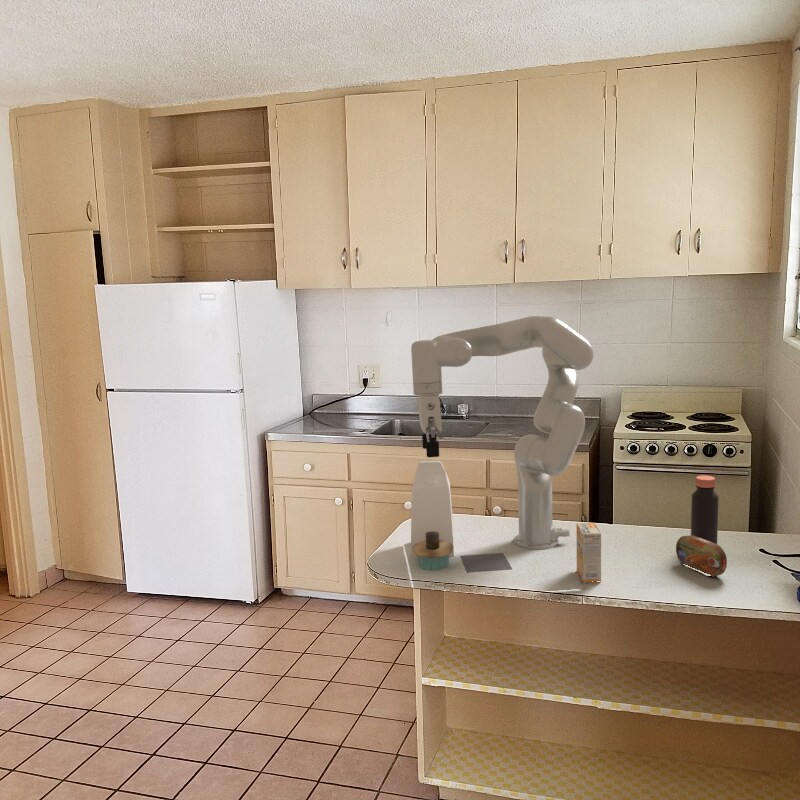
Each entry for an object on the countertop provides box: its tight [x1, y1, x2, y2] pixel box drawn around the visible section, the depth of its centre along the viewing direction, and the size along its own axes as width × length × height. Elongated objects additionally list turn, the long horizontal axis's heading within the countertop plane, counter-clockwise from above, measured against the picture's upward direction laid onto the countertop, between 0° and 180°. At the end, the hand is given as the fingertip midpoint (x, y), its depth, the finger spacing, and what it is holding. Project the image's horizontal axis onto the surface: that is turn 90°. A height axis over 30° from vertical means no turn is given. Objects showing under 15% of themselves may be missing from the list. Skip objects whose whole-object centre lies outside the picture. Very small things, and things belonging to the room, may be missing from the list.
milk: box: [410, 460, 455, 557], centre depth 214 cm, size 12×12×26 cm
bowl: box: [417, 555, 450, 571], centre depth 204 cm, size 8×8×4 cm
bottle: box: [690, 475, 719, 545], centre depth 207 cm, size 7×7×20 cm
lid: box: [412, 531, 453, 558], centre depth 203 cm, size 11×11×5 cm
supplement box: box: [576, 522, 602, 583], centre depth 192 cm, size 8×5×13 cm, turn 178°
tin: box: [675, 534, 728, 578], centre depth 193 cm, size 15×3×8 cm, turn 23°
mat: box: [459, 552, 513, 573], centre depth 204 cm, size 12×12×1 cm
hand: (430, 452), depth 199 cm, fingers open, 9 cm apart
